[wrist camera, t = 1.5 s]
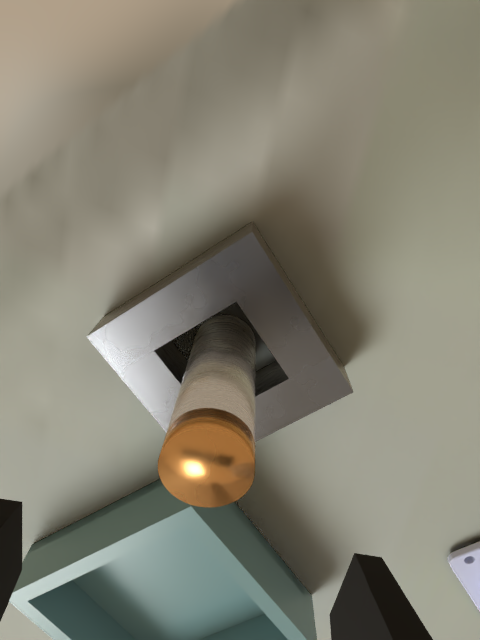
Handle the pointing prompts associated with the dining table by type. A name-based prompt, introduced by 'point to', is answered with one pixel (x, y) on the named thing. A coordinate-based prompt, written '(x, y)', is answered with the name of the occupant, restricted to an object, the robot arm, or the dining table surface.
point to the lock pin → (213, 418)
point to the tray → (162, 576)
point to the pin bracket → (205, 301)
